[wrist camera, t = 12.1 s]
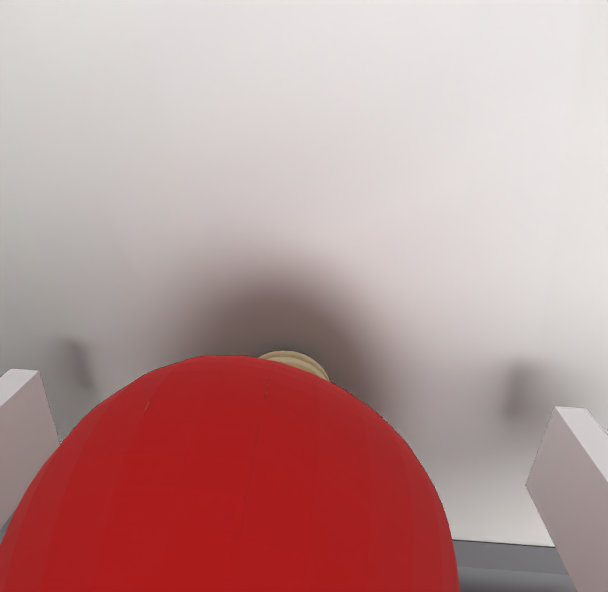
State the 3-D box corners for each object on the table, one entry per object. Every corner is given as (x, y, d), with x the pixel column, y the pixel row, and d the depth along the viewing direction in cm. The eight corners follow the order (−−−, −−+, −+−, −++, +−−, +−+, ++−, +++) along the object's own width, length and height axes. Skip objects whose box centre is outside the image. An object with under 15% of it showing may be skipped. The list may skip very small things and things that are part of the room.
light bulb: (417, 465, 15) (555, 1056, 6) (225, 487, 16) (85, 1019, 7) (379, 203, 11) (624, 756, 2) (128, 254, 12) (-511, 773, 3)
